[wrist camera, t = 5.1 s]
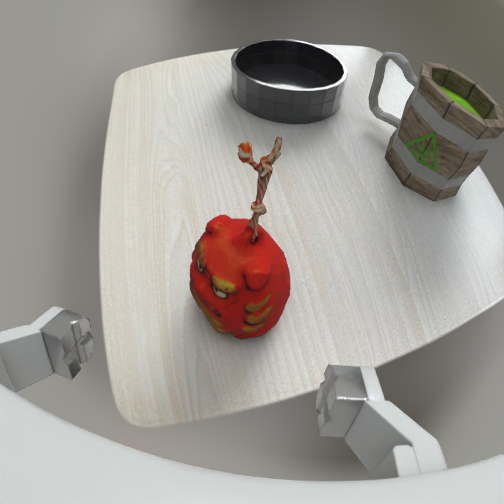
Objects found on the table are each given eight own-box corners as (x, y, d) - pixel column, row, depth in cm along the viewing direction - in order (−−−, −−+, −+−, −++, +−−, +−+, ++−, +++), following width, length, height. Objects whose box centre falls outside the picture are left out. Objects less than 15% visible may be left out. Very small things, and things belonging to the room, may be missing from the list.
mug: (468, 176, 31) (513, 114, 21) (438, 218, 28) (497, 145, 17) (381, 104, 36) (405, 35, 26) (335, 130, 33) (358, 45, 22)
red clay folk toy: (179, 288, 25) (110, 167, 11) (243, 238, 27) (241, 94, 13) (239, 359, 22) (225, 311, 9) (305, 301, 24) (370, 189, 11)
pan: (221, 116, 34) (218, 83, 29) (243, 62, 40) (242, 35, 36) (342, 133, 33) (351, 101, 29) (337, 74, 39) (343, 48, 35)
